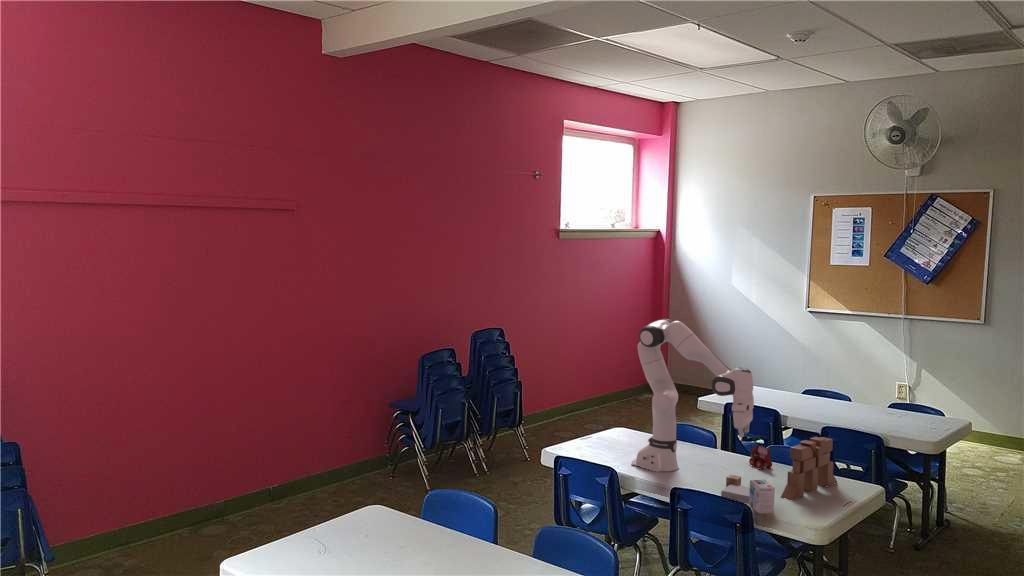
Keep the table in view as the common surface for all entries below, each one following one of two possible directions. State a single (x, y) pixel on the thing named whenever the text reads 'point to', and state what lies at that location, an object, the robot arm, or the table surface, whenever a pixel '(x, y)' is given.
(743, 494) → the stand
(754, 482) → the light bulb box
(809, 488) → the wooden robot
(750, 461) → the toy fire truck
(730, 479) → the walnut cube
